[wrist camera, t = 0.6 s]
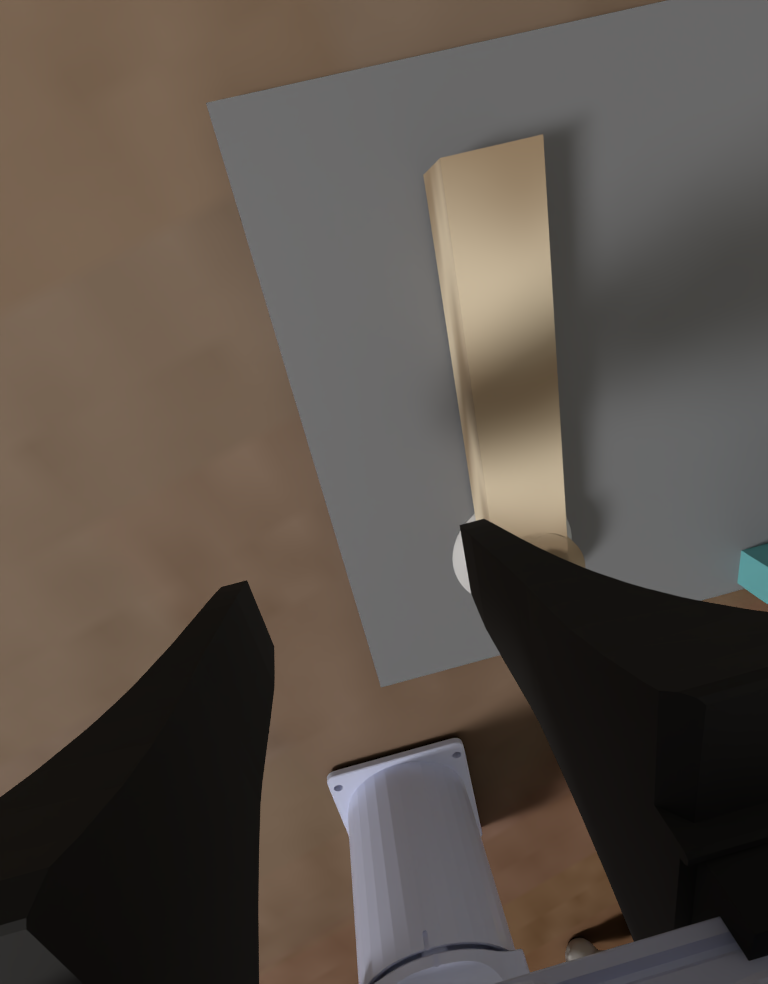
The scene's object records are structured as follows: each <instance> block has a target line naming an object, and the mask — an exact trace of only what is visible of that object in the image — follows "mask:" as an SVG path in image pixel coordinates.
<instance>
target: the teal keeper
mask: <svg viewBox="0 0 768 984" xmlns="http://www.w3.org/2000/svg"><path fill="white" fill-rule="evenodd" d="M737 583H738V584H739V585H741V586H742V587H744V588H745V589H747V590H748V591H749V592H751V593H752V594H754V595H755V596H756V597H758V598H759V599H761V600H762V601H764V602H765V603H766V604H768V544H764V545H760V546H756V547H753V548H749V549H745V550H742V551H741V557H740V565H739V573H738V581H737Z"/></svg>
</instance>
